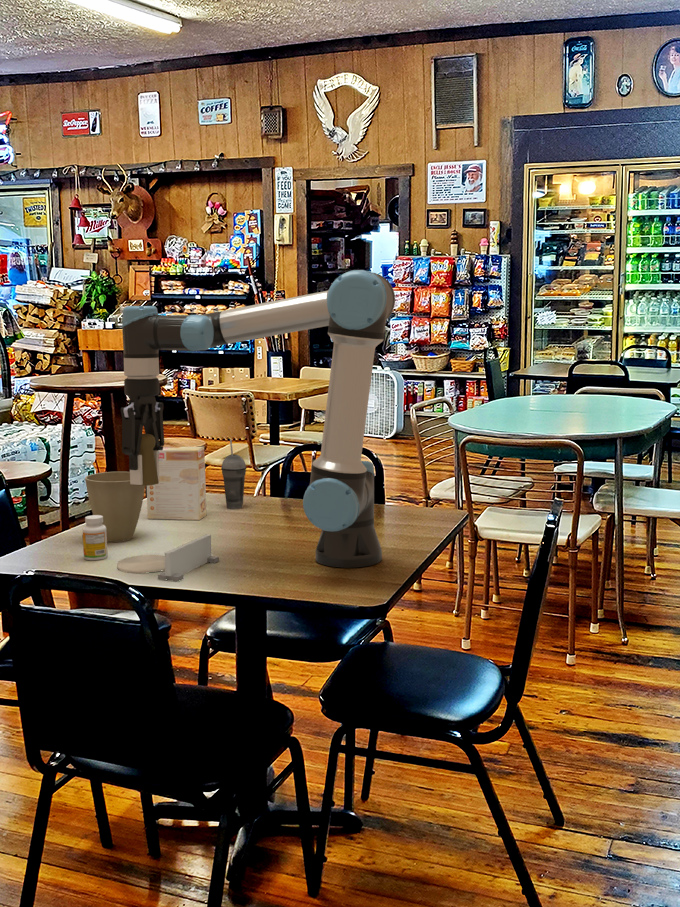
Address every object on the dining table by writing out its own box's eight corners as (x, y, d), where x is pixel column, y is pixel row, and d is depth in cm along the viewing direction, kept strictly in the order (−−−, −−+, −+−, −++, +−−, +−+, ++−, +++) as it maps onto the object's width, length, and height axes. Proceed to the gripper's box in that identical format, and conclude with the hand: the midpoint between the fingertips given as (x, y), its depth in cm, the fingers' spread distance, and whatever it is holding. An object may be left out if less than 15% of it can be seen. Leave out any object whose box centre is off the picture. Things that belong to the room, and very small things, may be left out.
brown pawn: (125, 484, 212) (123, 434, 211) (142, 480, 217) (141, 431, 216) (146, 486, 209) (145, 436, 208) (164, 482, 215) (162, 433, 213)
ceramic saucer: (186, 560, 220) (186, 557, 220) (156, 575, 208) (155, 571, 208) (137, 556, 225) (137, 552, 225) (105, 570, 213) (105, 566, 213)
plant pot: (98, 548, 232) (95, 483, 230) (80, 536, 245) (77, 474, 242) (157, 540, 240) (155, 477, 238) (136, 529, 252) (134, 469, 250)
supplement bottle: (89, 554, 227) (87, 514, 225) (111, 555, 226) (109, 514, 224) (79, 560, 221) (78, 518, 220) (102, 561, 221) (100, 519, 219)
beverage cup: (231, 511, 274) (230, 441, 271) (217, 507, 280) (215, 439, 277) (252, 507, 279) (250, 439, 276) (237, 504, 284) (235, 437, 281)
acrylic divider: (219, 560, 220) (218, 535, 219) (178, 581, 203) (177, 554, 202) (199, 559, 222) (199, 533, 221) (157, 579, 205) (156, 552, 204)
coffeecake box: (207, 515, 269) (205, 446, 266) (199, 520, 262) (197, 449, 259) (155, 514, 271) (153, 445, 269) (147, 519, 264) (144, 449, 262)
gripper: (150, 374, 220) (153, 473, 223) (101, 379, 203) (105, 488, 206) (179, 374, 217) (181, 475, 221) (132, 380, 200) (135, 490, 203)
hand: (144, 481), depth 213 cm, fingers closed on brown pawn, 6 cm apart
